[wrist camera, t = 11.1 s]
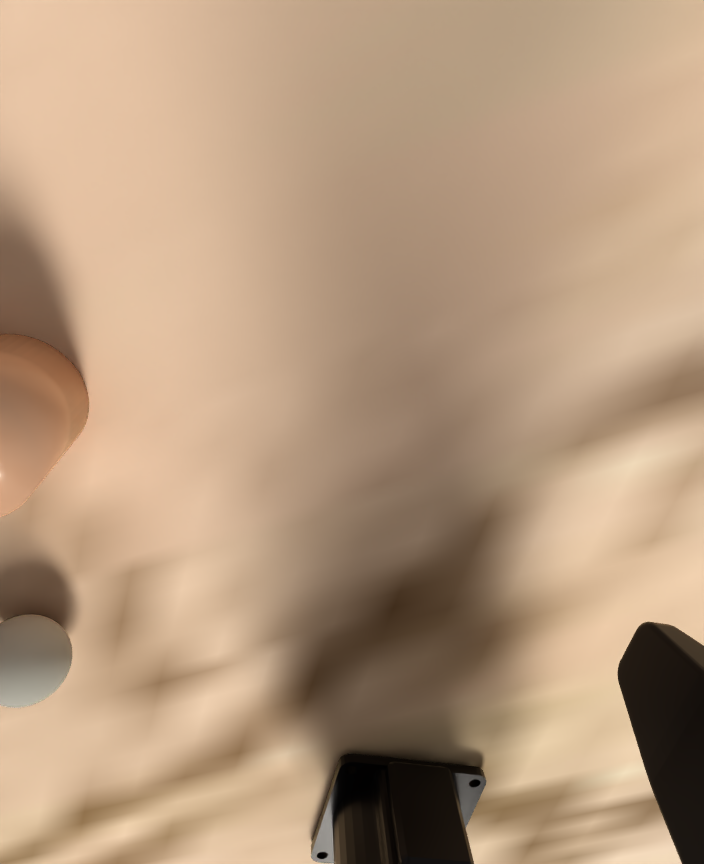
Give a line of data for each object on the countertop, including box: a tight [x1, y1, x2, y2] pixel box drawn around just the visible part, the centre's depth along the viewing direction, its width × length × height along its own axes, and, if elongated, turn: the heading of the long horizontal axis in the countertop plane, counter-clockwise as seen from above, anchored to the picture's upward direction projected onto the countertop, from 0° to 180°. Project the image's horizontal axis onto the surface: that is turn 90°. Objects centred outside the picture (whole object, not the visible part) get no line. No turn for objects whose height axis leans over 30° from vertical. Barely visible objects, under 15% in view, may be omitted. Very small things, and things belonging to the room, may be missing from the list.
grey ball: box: [0, 614, 72, 708], centre depth 22 cm, size 3×3×3 cm
